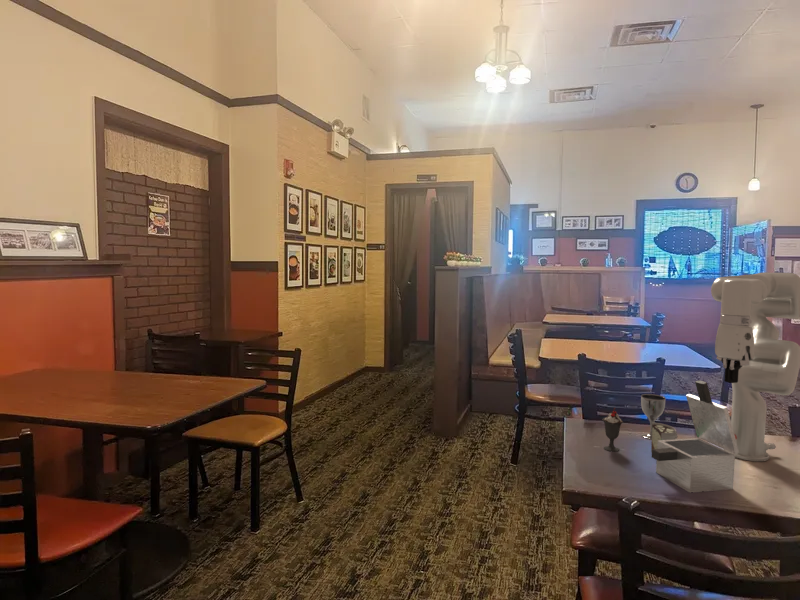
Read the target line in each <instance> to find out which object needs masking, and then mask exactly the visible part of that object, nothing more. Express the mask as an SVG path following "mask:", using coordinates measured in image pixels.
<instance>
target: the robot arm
mask: <svg viewBox="0 0 800 600" xmlns="http://www.w3.org/2000/svg"><path fill="white" fill-rule="evenodd" d="M710 294H711V296H712V299H713V300H715V301H716V302H720V317H719V318H720V319H719V324H718V327H717V329H716V330H717V332H716V336H715V343H714V353H715V355H716V359H717V360H719V361H721V363H722V365H723V366H722V367H723V368H724V380H723V381H724V382H725V383H727V384H728V383H729V384H731V387H732V389H731V390H732V398H731V399H732V402H731V415H730V416H731V417H730V420H731V423H732V427H733V431H734V434H735V435H736V436H737V439H736V442H737V446H738V450H739V453H738V454H734V453H732V454H734V455H735V458H737V459H740V460H744V461H749V462H767V461H768V460H769V459H770V454H769V453H768V452H767V451H768V450H776V448H777V447H776V444H775V443H773V442H771V443H770V442H769V443H766V442H765V436H766V422H767V421H766V420H767V419H766V418H767V411H768V409H767V408H768V407H767V403H766V400H765V399H764V398H763V396H762V395H761V393H765V394H766V393H767V394H772V395H778V396H779V395H780V396H789V395H791V394H792V393H794V391H795V388H796V384H797V380H798V376H799V373H800V345H799V344H798V343H797V342H795V341H791V340H784V339H779V337H780V331H779V329H778V328H777V326H776V325H775V324H774V322H772V321H770V319H768V318H771V319H772V318H773V319H774V318H777V319H789V320H798V319H800V276H799V275H798V274H796V273H793V272H768V271H767V272H758V273H753V274H743V275H730V276H722V277H721V276H720V277H717V278H716V279H715V280H713V283H712V284H711V287H710ZM723 450H725V449H723ZM725 451H727V450H725ZM728 452H729V451H728ZM730 453H731V452H730Z"/></svg>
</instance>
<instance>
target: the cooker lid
mask: <svg viewBox="0 0 800 600" xmlns="http://www.w3.org/2000/svg"><path fill="white" fill-rule="evenodd" d="M694 383H695V388H696V390H697V394H698V396H697V395H694V394H691V393H687V394H686V395H685V397H686V400H687V404H688V407H689V411H690V415H691V416H690V417H691V420H692V422H693V426H694V431H695V434H696V438H699V439H701V440H703V441H706V442H708V443H710V444H712V445H714V446H717V447H719V448H721V449H723V450H724V449H725V450H727V451H729V452H731V453H734V454H738V453H739V450H738V446H737V442H736V439H737V436H736V435H735V434H734V431H733V427H732V423H731V417H730V416H731V415H730V413H729V409H728V407H727V406H725V405H722V404H719V403H716V402H714V401H713V400H712V396H711V393H710V388H709V385H708V382H706V381H703V380H700V379H698V380H696V381H694Z"/></svg>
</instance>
